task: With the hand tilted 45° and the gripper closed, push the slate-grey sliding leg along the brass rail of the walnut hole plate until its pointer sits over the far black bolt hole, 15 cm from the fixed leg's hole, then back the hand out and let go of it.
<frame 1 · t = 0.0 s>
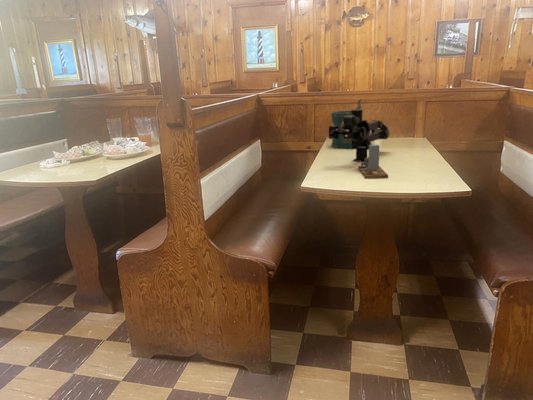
hand: (338, 135, 203), 17 cm above the table, tool horizontal, fingers open, 9 cm apart
sliding leg: (371, 158, 195), point 7 cm above the table, slide at 0.0 cm
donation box: (345, 146, 268), on the table
hole plate: (372, 173, 199), on the table
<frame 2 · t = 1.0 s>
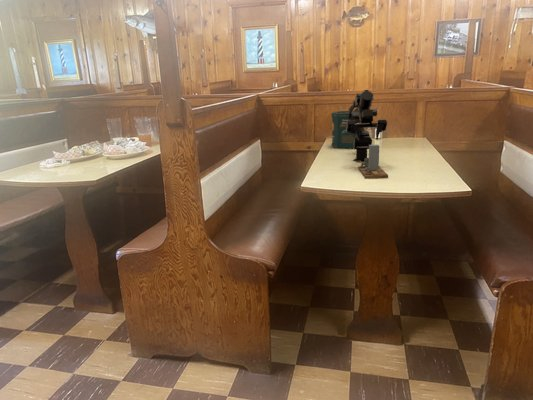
hand: (368, 139, 205), 14 cm above the table, tool tilted 45°, fingers open, 8 cm apart
nothing on the table moved.
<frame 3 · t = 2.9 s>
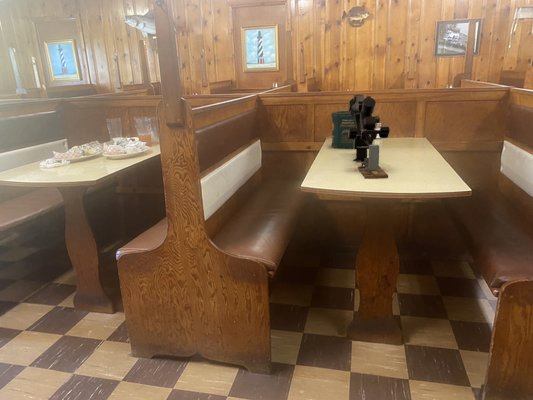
hand: (370, 147, 201), 11 cm above the table, tool tilted 45°, fingers closed
nothing on the table moved.
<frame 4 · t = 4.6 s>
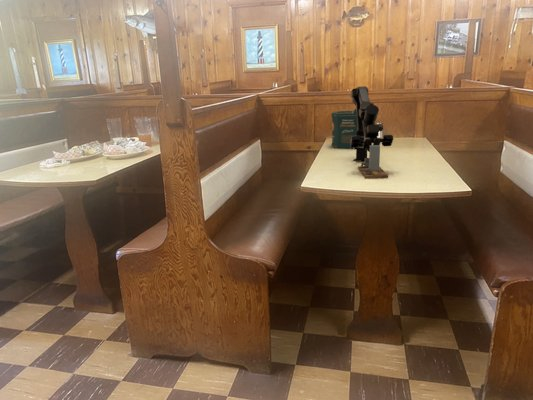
hand: (373, 156, 195), 8 cm above the table, tool tilted 45°, fingers closed, pressing on sliding leg
sliding leg: (372, 158, 194), point 7 cm above the table, slide at 1.4 cm, touching gripper
everything else where it was.
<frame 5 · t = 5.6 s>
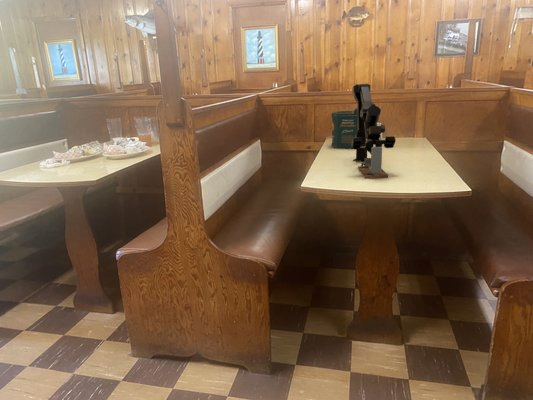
hand: (375, 158, 191), 8 cm above the table, tool tilted 45°, fingers closed, pressing on sliding leg
sliding leg: (374, 160, 190), point 7 cm above the table, slide at 5.5 cm, touching gripper
everything else where it was.
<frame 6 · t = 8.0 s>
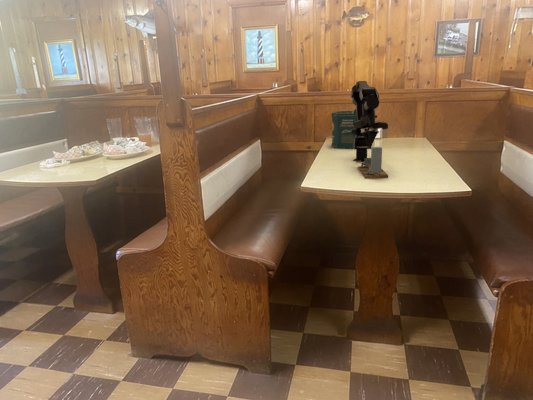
hand: (369, 147, 203), 11 cm above the table, tool tilted 20°, fingers closed
sliding leg: (374, 160, 190), point 7 cm above the table, slide at 5.5 cm
everything else where it was.
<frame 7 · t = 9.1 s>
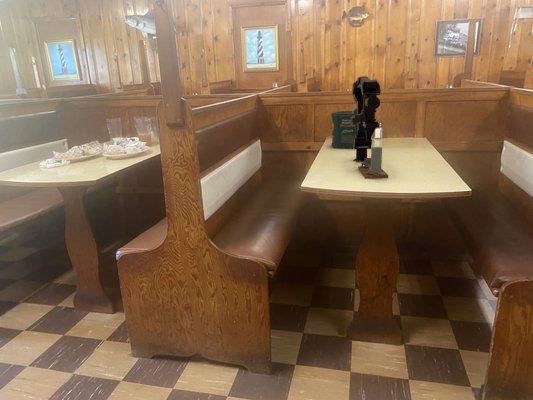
hand: (368, 140, 207), 13 cm above the table, tool pointing down, fingers closed
nothing on the table moved.
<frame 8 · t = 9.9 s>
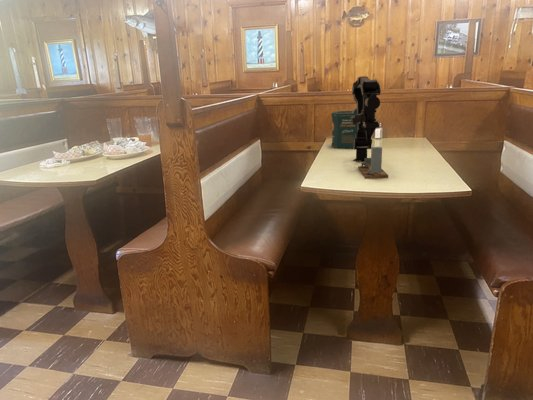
hand: (368, 140, 207), 13 cm above the table, tool pointing down, fingers closed
nothing on the table moved.
at the end: sliding leg slide at 5.5 cm; the gripper is holding nothing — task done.
